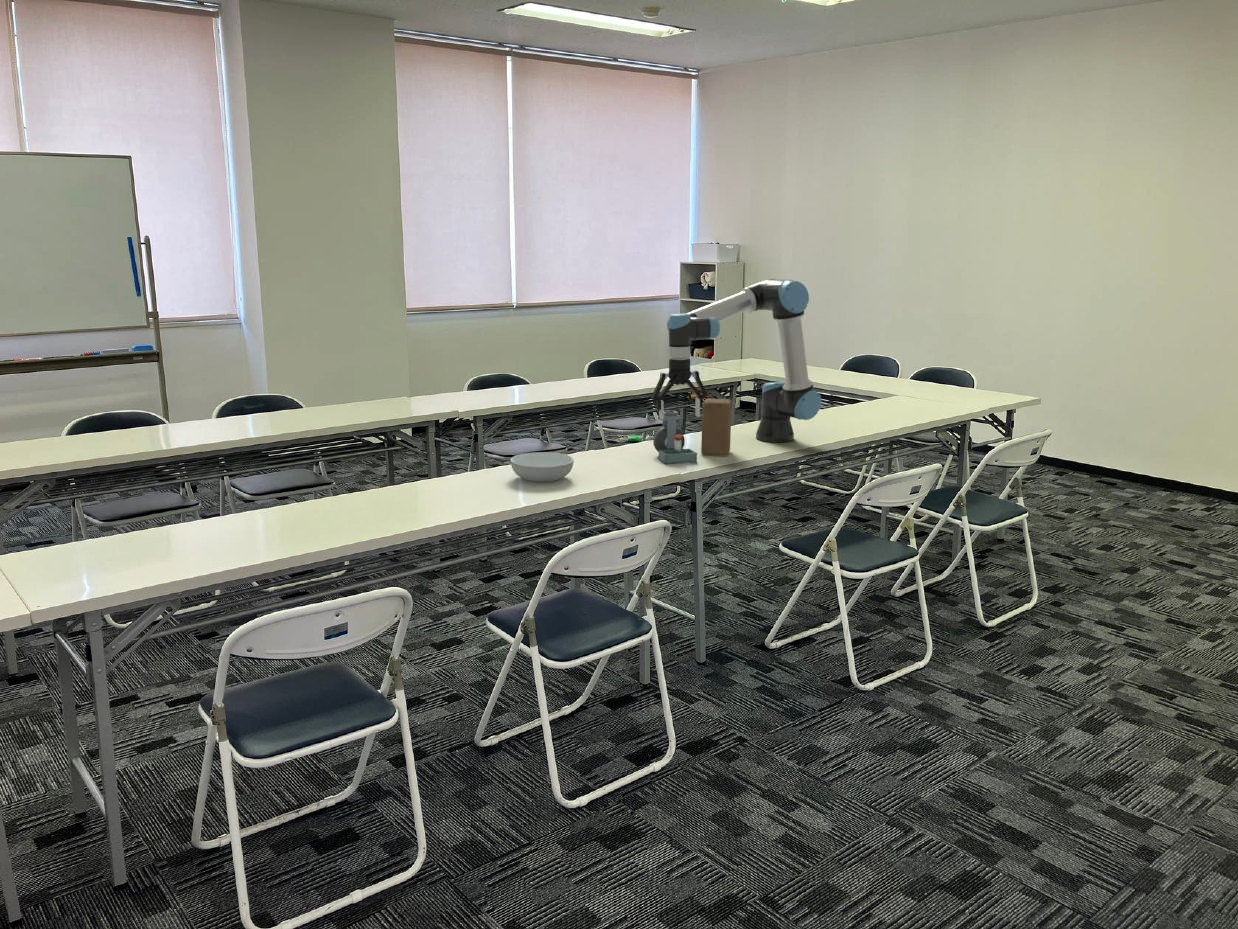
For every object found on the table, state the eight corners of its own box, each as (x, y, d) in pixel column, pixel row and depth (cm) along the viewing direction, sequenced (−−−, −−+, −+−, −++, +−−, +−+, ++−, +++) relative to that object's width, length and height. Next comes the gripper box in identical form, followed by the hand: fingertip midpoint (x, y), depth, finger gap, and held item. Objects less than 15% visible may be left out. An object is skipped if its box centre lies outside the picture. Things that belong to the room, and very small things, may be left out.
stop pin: (680, 458, 337) (681, 434, 335) (683, 460, 334) (684, 435, 332) (671, 458, 336) (672, 434, 334) (674, 460, 333) (675, 436, 331)
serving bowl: (505, 486, 299) (505, 465, 297) (516, 471, 319) (516, 451, 318) (570, 487, 298) (570, 466, 296) (576, 472, 318) (576, 452, 316)
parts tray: (689, 457, 340) (690, 448, 339) (696, 462, 333) (697, 452, 332) (658, 459, 337) (658, 450, 336) (664, 464, 330) (665, 454, 329)
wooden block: (727, 457, 342) (729, 403, 338) (700, 455, 344) (702, 402, 340) (730, 451, 352) (732, 399, 347) (703, 450, 354) (705, 398, 349)
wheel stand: (680, 453, 348) (680, 409, 344) (685, 457, 342) (686, 412, 338) (651, 454, 345) (652, 411, 341) (657, 458, 339) (657, 413, 335)
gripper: (709, 355, 333) (708, 413, 338) (642, 358, 327) (643, 417, 332) (716, 357, 326) (716, 417, 331) (648, 361, 320) (649, 421, 325)
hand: (679, 417), depth 332 cm, fingers open, 13 cm apart
